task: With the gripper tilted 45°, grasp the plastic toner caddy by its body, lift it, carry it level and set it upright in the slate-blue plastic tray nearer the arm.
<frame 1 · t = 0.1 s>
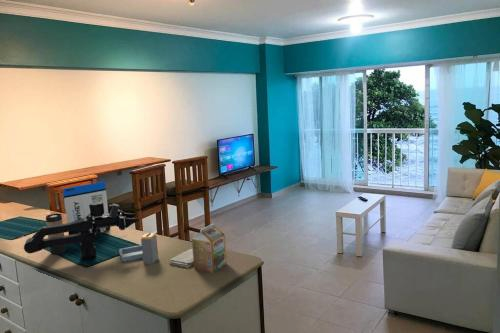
hand: (137, 217, 214), 17 cm above the worktop, tool horizontal, fingers open, 9 cm apart
washcloth: (190, 260, 198), on the worktop
milk carton: (210, 266, 188), on the worktop
protein powder: (90, 234, 244), on the worktop
tray: (134, 255, 206), on the worktop
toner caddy: (151, 260, 198), on the worktop
travel mug: (58, 252, 216), on the worktop
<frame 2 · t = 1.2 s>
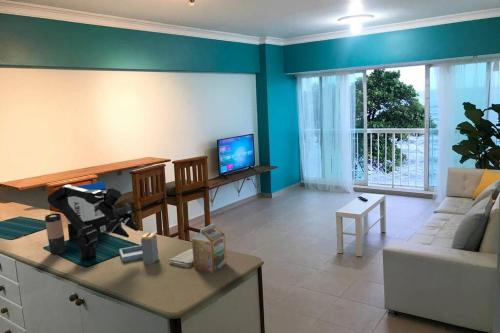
hand: (133, 233, 197), 13 cm above the worktop, tool tilted 45°, fingers open, 9 cm apart
nothing on the worktop moved.
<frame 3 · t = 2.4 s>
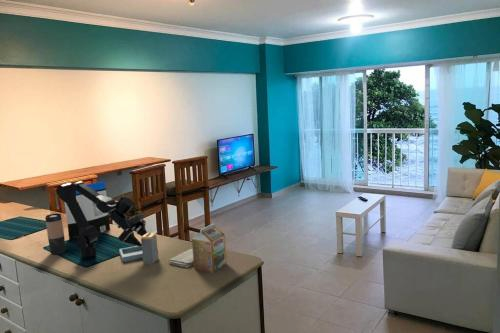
hand: (145, 242, 197), 9 cm above the worktop, tool tilted 45°, fingers open, 9 cm apart
nothing on the worktop moved.
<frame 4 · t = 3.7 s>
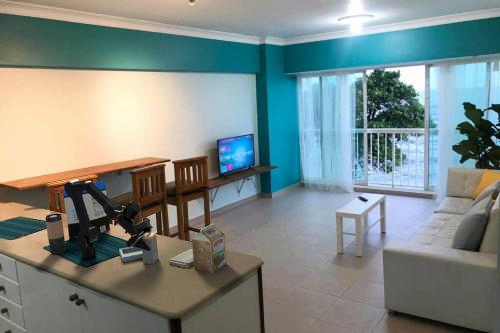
hand: (152, 247, 197), 7 cm above the worktop, tool tilted 45°, fingers closed on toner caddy, 6 cm apart
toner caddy: (151, 260, 198), on the worktop, touching gripper
everything else where it was.
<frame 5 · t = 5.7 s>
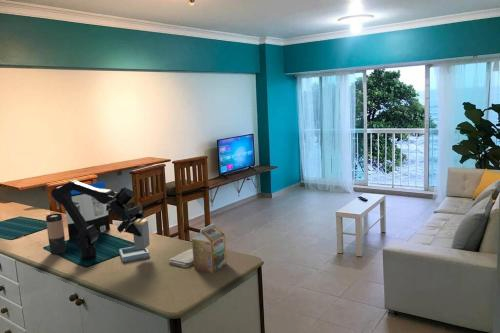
hand: (143, 233, 199), 13 cm above the worktop, tool tilted 45°, fingers closed on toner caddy, 6 cm apart
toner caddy: (142, 246, 200), point 6 cm above the worktop, touching gripper
everything else where it was.
when the fingers open (8 cm above the worktop, at t = 7.9 s): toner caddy drops 1 cm, resting on tray.
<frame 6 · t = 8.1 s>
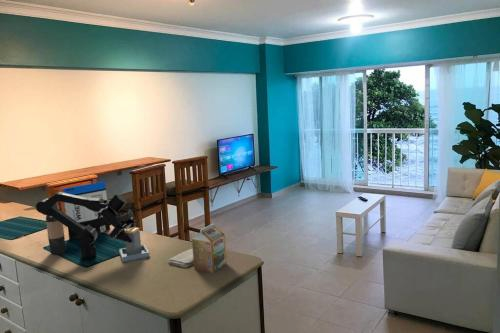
hand: (135, 239, 204), 9 cm above the worktop, tool tilted 45°, fingers open, 8 cm apart
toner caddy: (134, 254, 206), point 1 cm above the worktop, touching tray
everything else where it was.
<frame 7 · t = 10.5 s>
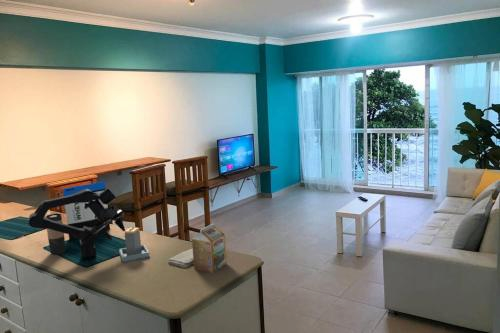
hand: (118, 235, 206), 10 cm above the worktop, tool tilted 35°, fingers open, 9 cm apart
nothing on the worktop moved.
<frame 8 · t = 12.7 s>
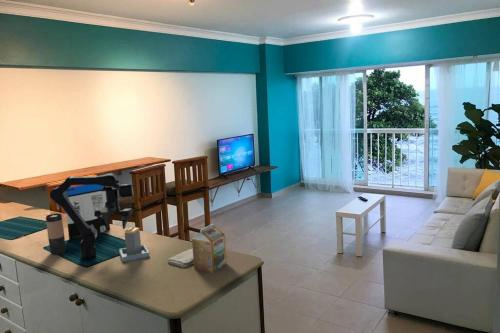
hand: (115, 229, 208), 13 cm above the worktop, tool pointing down, fingers open, 9 cm apart
nothing on the worktop moved.
at the end: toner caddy inside the target area on the tray (0.0 cm from its centre), point 0.6 cm above the tray's base; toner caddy tilted 0°; the gripper is holding nothing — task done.
